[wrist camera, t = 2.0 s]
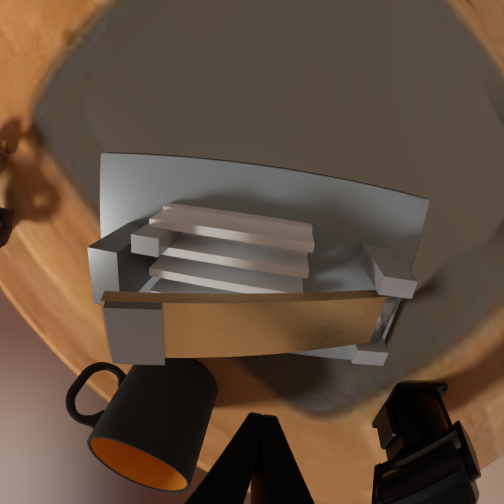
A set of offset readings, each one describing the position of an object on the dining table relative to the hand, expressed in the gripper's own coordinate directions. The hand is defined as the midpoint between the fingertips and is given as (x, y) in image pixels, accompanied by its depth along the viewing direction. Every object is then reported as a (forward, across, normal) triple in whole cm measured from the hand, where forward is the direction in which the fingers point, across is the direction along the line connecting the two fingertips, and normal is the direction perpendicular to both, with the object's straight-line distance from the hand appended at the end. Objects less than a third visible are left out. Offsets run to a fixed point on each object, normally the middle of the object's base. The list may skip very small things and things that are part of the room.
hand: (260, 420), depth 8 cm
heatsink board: (+13, +2, 0) cm, 13 cm away
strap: (+6, 0, 0) cm, 6 cm away
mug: (+13, +9, +14) cm, 21 cm away
